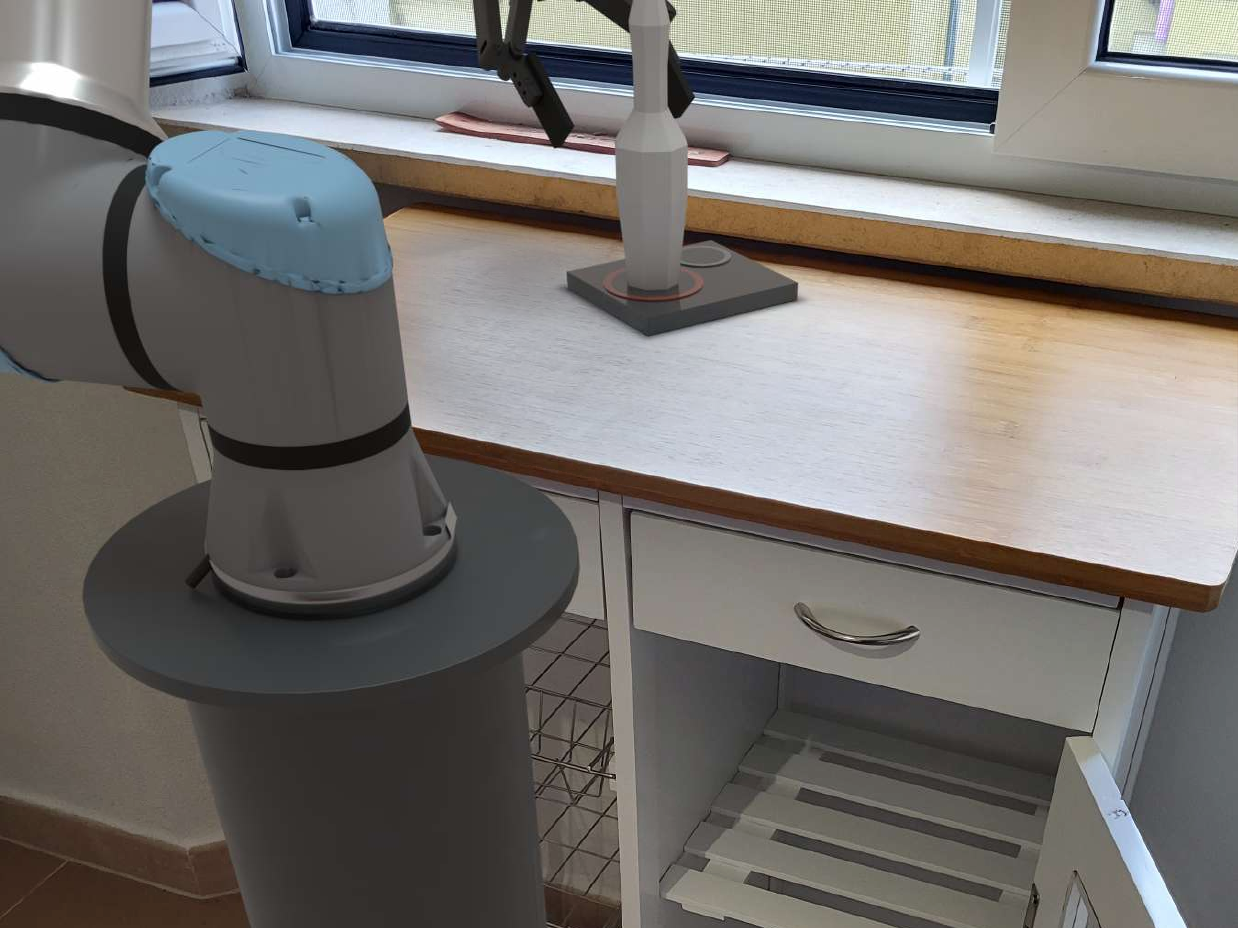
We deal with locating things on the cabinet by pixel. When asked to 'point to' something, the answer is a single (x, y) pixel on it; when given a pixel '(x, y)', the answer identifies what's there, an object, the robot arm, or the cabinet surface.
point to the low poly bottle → (651, 159)
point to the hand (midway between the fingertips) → (626, 123)
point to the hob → (685, 289)
